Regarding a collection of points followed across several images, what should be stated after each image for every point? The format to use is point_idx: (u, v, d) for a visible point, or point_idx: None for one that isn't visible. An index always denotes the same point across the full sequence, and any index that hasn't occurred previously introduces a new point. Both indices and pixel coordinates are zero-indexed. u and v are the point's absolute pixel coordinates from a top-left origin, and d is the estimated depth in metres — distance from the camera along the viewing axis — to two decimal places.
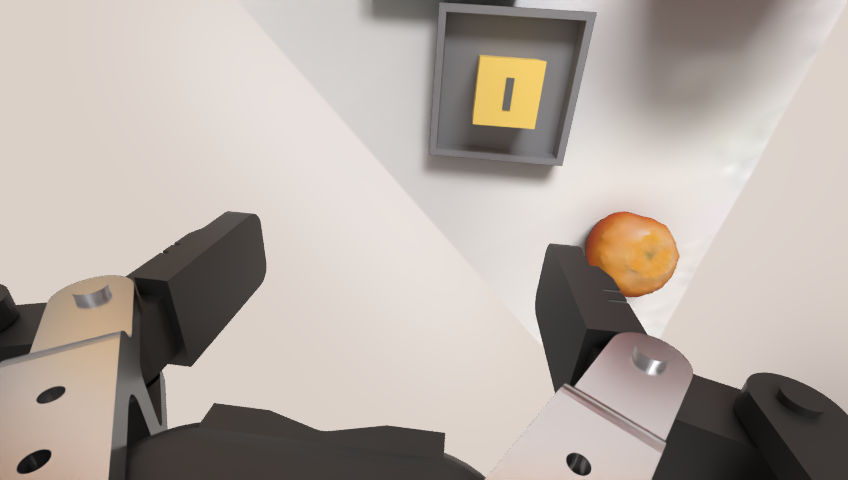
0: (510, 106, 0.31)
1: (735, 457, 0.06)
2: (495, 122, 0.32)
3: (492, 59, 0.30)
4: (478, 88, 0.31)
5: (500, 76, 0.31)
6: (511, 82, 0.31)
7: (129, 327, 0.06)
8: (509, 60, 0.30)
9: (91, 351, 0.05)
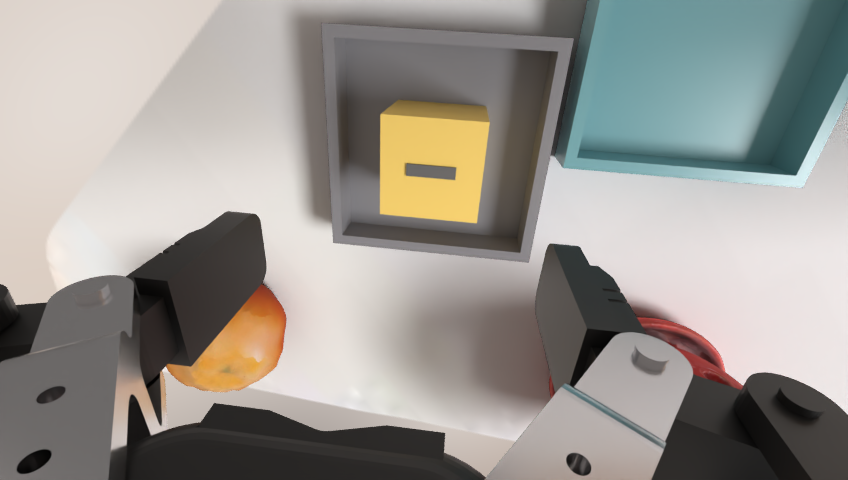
0: (412, 176, 0.19)
1: (735, 457, 0.06)
2: (385, 153, 0.19)
3: (484, 143, 0.18)
4: (439, 121, 0.18)
5: (457, 157, 0.19)
6: (449, 175, 0.19)
7: (129, 327, 0.06)
8: (481, 170, 0.19)
9: (91, 351, 0.05)
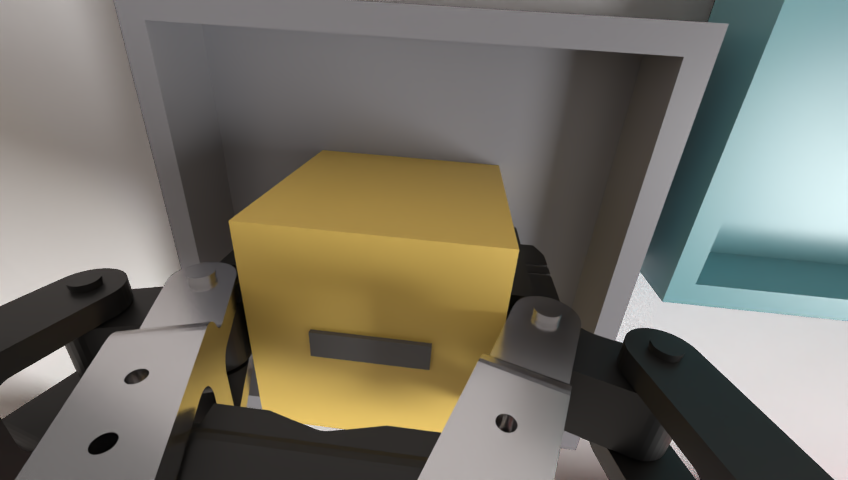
0: (325, 356, 0.08)
1: (611, 399, 0.07)
2: (257, 307, 0.08)
3: (503, 295, 0.07)
4: (384, 243, 0.07)
5: (434, 324, 0.07)
6: (414, 357, 0.08)
7: (221, 317, 0.07)
8: None
9: (179, 338, 0.05)
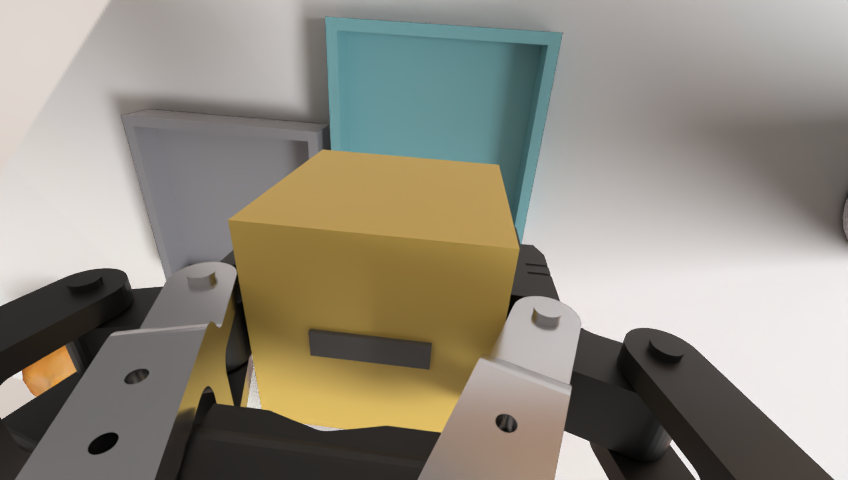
0: (324, 356, 0.08)
1: (611, 399, 0.07)
2: (256, 307, 0.08)
3: (503, 294, 0.07)
4: (384, 242, 0.07)
5: (434, 323, 0.07)
6: (414, 356, 0.08)
7: (221, 317, 0.07)
8: None
9: (180, 338, 0.05)
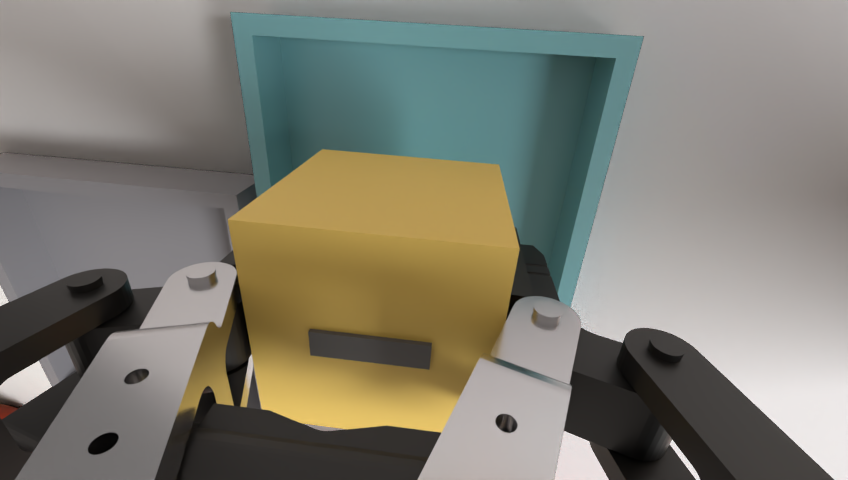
0: (325, 356, 0.08)
1: (611, 399, 0.07)
2: (256, 306, 0.08)
3: (503, 294, 0.07)
4: (384, 242, 0.07)
5: (434, 323, 0.07)
6: (414, 357, 0.08)
7: (222, 317, 0.07)
8: None
9: (180, 338, 0.05)
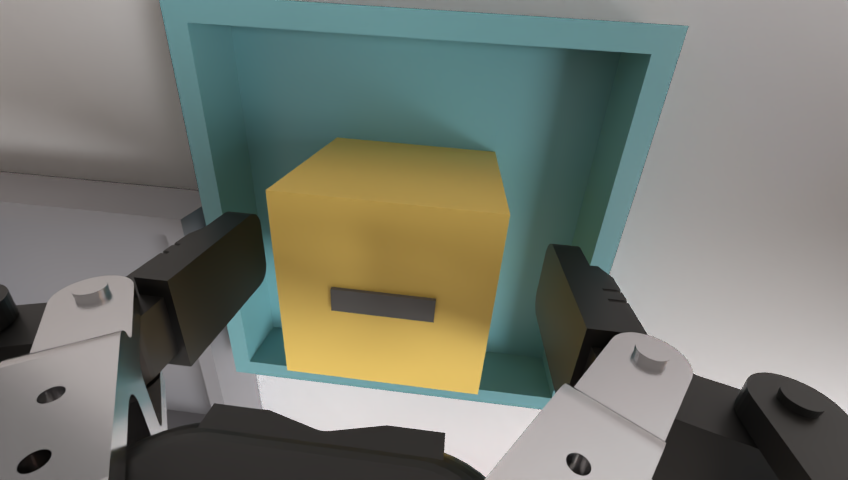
0: (343, 311, 0.09)
1: (735, 457, 0.06)
2: (286, 267, 0.09)
3: (497, 255, 0.08)
4: (397, 209, 0.08)
5: (438, 281, 0.09)
6: (420, 311, 0.09)
7: (129, 327, 0.06)
8: (489, 305, 0.09)
9: (91, 351, 0.05)
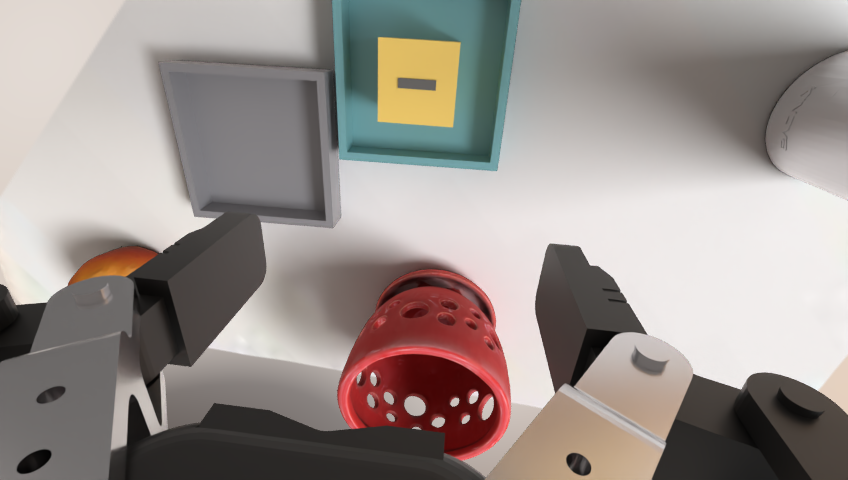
0: (402, 88, 0.25)
1: (735, 457, 0.06)
2: (382, 70, 0.25)
3: (457, 59, 0.24)
4: (423, 42, 0.24)
5: (437, 72, 0.25)
6: (430, 87, 0.25)
7: (129, 327, 0.06)
8: (455, 82, 0.25)
9: (91, 351, 0.05)
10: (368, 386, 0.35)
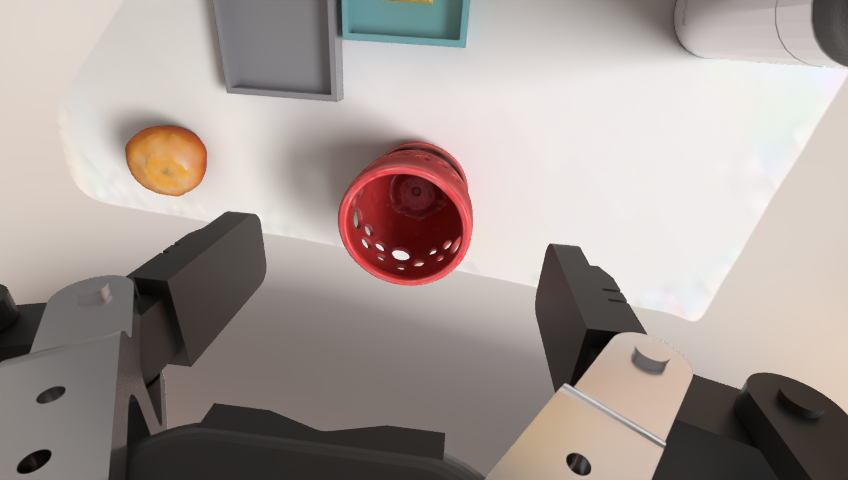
0: None
1: (735, 457, 0.06)
2: None
3: None
4: None
5: None
6: None
7: (129, 327, 0.06)
8: None
9: (91, 351, 0.05)
10: (363, 232, 0.43)
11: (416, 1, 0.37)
